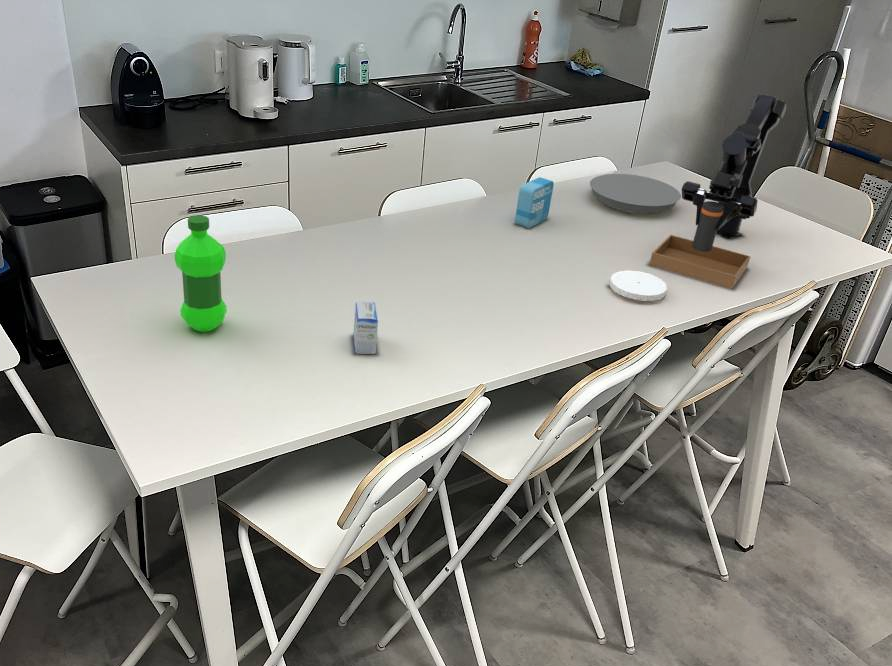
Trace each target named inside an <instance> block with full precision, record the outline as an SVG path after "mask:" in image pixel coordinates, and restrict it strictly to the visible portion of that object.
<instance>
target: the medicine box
mask: <svg viewBox="0 0 892 666" xmlns="http://www.w3.org/2000/svg"><path fill="white" fill-rule="evenodd" d="M353 320H354V321H353V332H352V333H353V334H352V336H353V345H354V353H355V354H357V355H375V354H376V351H377V340H378V326H379V320H378V313H377V306H376V302H374V301H355V304H354V318H353Z"/></svg>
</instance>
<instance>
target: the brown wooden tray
mask: <svg viewBox="0 0 892 666" xmlns="http://www.w3.org/2000/svg"><path fill="white" fill-rule="evenodd" d="M692 244H693V239H692V240H691V239H688V238H684V237H681V236H678V235H673V234H669V235H668V236H667V237H666V239H664V240H663V241H662V242H661V243H660V245H658V247H657V248H655V250H654V251H652V253H651V257H650V260H649V266H652V267H655V268H659V269H662V270H665V271H669V272H673V273H675V274H678V275H679V274H680V275H683V276H686V277H690V278H693V279H697V280H700V281H704V282H707V283H711V284H714V285H718V286H720V287H724V288H727V289H731V290H732V289H733V288H734V287H735V286H736V284H737V283H738V281H739V280H740V278H741V277H742V276H743V274H744V273H745V271H746V270H747V268H748V265H749V263H750V260H751V255H748V254H744V253H740V252H736V251H732V250H728V249H724V248H721V247H718V246H714V245H713V246H712V250H711V251H709V252H702V251H698V250H695V249H694V248H692Z"/></svg>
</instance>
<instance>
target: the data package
mask: <svg viewBox="0 0 892 666" xmlns="http://www.w3.org/2000/svg"><path fill="white" fill-rule="evenodd" d="M554 185H555V183H554V181H553V180H550V179H547V178H544V177H541V176H539V177H537V178H534V179H532V180H530V181H528V182H525V183H523V184H522V185H521V186H520V187H519V191H518V198H517V204H516V210H515V217H514V224H516V225H518V226H521V227H524V228H527V229H530V228H532V227H534V226H536V225H538V224H540V223H542V222H544V221H546V220H547V219H548V216H549V214H550V207H551V204H552V203H551V202H552V196H553V191H554Z"/></svg>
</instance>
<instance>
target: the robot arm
mask: <svg viewBox="0 0 892 666" xmlns="http://www.w3.org/2000/svg"><path fill="white" fill-rule="evenodd" d="M749 110H750V113H749V115H748V116H747V118H746V120H745V122H744V123H742V124H740V125H737V126H736V127H735V128H734V130H733V132H730V133H729V134H728V136H727V137H726V138H725V139H724V140H723V142H722V145H721V161H722V162H721V164H720V167H719V169H718V171H715V170H714V171H713V174H712V176H711V179H710V182H709V186H708V189H709V191H708V190H706V189H704V188H702V187H701V184H700V183H697V182H693V181H690V180H689V181H688V180H687V181H686V182H684V183H683V185H682V187H681V199H683V200H684V201H688V202H692V205H693V206H696V215H695V226H698V222H699V219H700V215H701V210H702V207H703V204H704V202H705V201H706V200H708V201H713V202H718V203H720V204H722V205H724V209H723V214H722V216H721V219H720V221H719V223H718V225H717V228H716V231H717V233H716V235H719V236H720V237H723V238H725V239H728V240H729V239H734V238H738V237H742V236H743V233H741V232H740V228H741V225H742V222H743V220H746V219H750V218H752V217H754V216H755V214H756V212H757V209H758V199H757V197H755V196H753V192H752V187H751V181H752V179H753V176H754V174H755V171H756V168H757V165H758V163H759V160H760V157H761V155H762V152H763V149H764V147H765V143H766V141H767V138H768V136H769V133H770V132H771V131H772V130H774V129H775V128H776V127H777V126H778V125H779V123H780V120H781V119H783V118H784V116H785V113H786V110H787V103H786V102H785V101H784V100H782V99H779V98H778V97H776V96H774V95H770V94H764V93H761V94H758V95H757V96H754V98H753V101H752V104H751V106H750V109H749Z"/></svg>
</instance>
